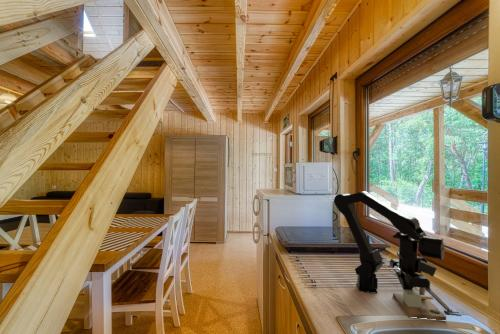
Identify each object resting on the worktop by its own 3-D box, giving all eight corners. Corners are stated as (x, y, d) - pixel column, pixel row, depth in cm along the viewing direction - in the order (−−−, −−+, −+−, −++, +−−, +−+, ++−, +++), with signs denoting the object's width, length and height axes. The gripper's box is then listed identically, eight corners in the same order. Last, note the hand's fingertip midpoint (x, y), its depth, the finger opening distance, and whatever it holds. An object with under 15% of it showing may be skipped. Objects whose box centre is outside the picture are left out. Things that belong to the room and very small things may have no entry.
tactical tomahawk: (469, 320, 85) (469, 317, 85) (445, 315, 87) (446, 312, 87) (439, 289, 105) (439, 287, 105) (420, 286, 107) (421, 283, 107)
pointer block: (408, 306, 88) (408, 294, 88) (403, 300, 92) (403, 289, 92) (435, 309, 87) (435, 297, 87) (428, 303, 91) (429, 291, 90)
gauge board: (408, 317, 84) (408, 297, 84) (392, 296, 98) (393, 279, 98) (446, 321, 82) (446, 301, 82) (425, 299, 96) (425, 282, 96)
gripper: (448, 263, 83) (447, 312, 83) (420, 245, 101) (419, 285, 101) (410, 261, 85) (409, 309, 85) (389, 244, 103) (388, 283, 103)
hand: (407, 295), depth 93 cm, fingers closed
